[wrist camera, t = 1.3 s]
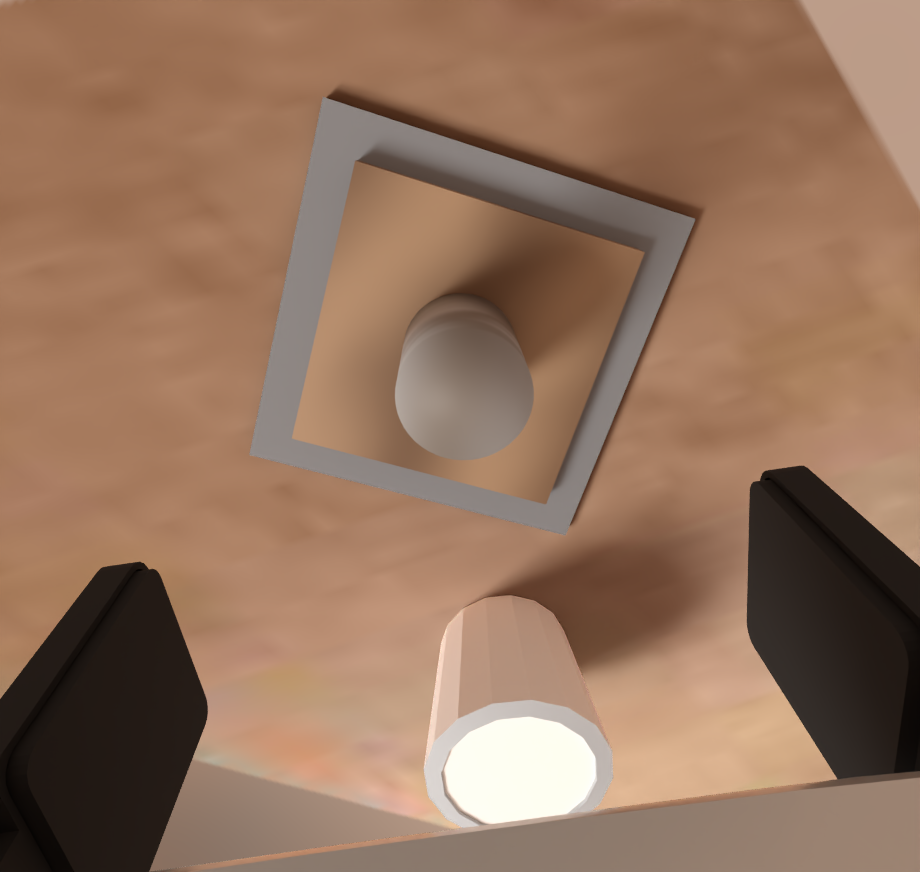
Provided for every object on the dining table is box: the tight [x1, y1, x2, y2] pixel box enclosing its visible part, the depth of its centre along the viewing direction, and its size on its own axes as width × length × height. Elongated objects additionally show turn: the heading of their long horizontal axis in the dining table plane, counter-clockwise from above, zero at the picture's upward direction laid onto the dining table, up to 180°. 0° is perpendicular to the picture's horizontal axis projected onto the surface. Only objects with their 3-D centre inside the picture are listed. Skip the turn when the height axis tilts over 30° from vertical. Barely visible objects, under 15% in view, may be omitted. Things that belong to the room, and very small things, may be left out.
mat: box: [250, 97, 695, 535], centre depth 26 cm, size 13×13×1 cm
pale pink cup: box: [424, 595, 613, 828], centre depth 28 cm, size 7×7×7 cm
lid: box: [292, 160, 645, 504], centre depth 23 cm, size 10×10×6 cm
